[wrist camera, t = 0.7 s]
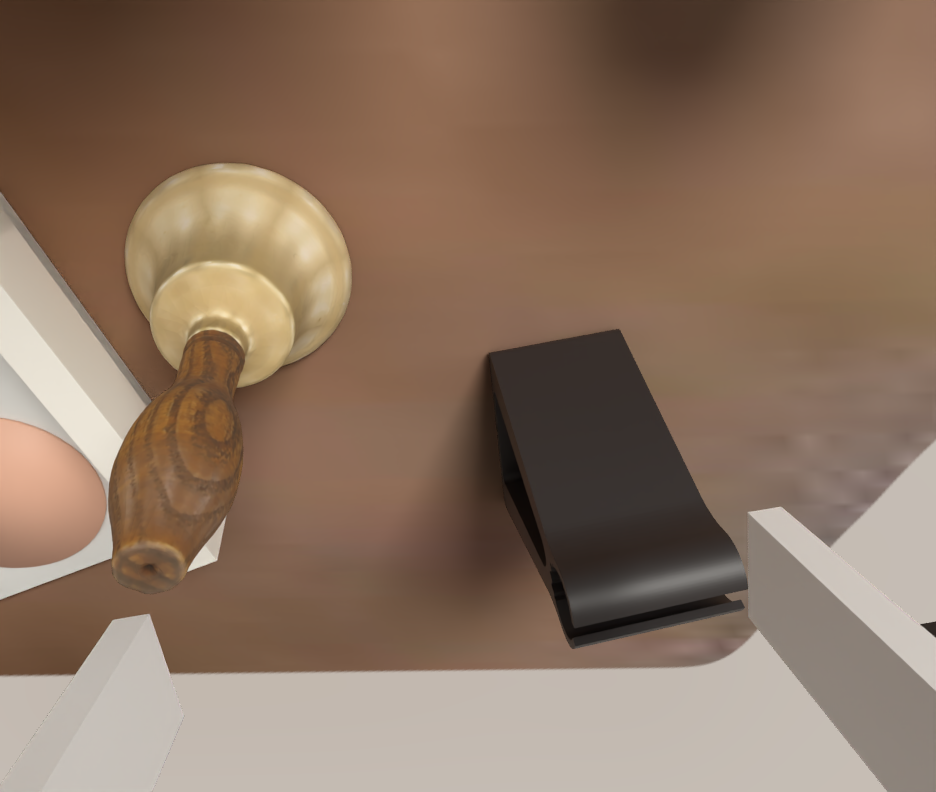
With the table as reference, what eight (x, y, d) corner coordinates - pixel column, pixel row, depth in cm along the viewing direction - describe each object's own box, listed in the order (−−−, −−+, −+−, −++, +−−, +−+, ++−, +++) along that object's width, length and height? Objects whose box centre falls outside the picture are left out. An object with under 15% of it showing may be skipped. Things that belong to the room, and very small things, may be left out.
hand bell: (110, 150, 22) (-218, 378, 9) (355, 172, 24) (385, 391, 11) (140, 364, 27) (-56, 739, 13) (347, 370, 28) (362, 704, 15)
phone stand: (614, 479, 34) (732, 680, 24) (503, 502, 34) (576, 717, 24) (617, 325, 30) (765, 496, 20) (488, 349, 29) (570, 536, 19)
